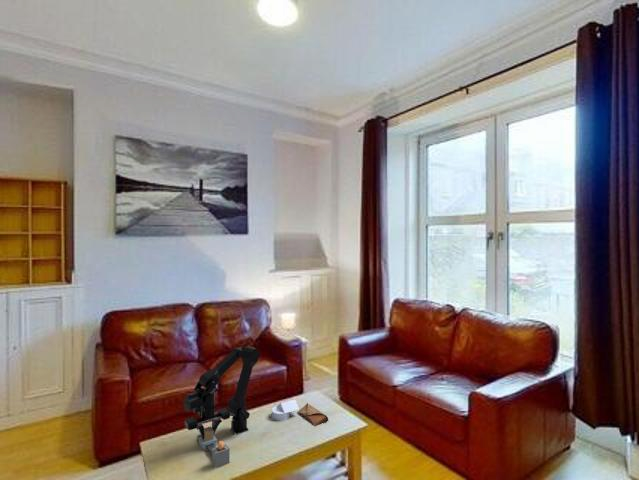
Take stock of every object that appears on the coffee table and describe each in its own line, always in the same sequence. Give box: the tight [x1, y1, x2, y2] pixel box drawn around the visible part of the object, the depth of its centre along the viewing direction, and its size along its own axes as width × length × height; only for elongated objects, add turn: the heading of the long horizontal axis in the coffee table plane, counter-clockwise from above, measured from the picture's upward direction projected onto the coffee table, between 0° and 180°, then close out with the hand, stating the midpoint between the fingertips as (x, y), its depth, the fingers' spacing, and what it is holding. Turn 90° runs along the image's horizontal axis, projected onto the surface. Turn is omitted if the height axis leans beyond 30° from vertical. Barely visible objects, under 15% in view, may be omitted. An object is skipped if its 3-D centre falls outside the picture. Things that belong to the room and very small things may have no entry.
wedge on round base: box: [271, 399, 300, 421], centre depth 194 cm, size 9×7×13 cm
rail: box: [196, 434, 217, 457], centre depth 164 cm, size 5×20×2 cm, turn 36°
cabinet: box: [211, 443, 231, 469], centre depth 153 cm, size 6×4×6 cm, turn 126°
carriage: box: [197, 425, 218, 451], centre depth 166 cm, size 6×6×7 cm
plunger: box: [217, 440, 224, 451], centre depth 153 cm, size 2×2×3 cm
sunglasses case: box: [296, 402, 329, 427], centre depth 192 cm, size 18×7×7 cm
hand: (207, 437), depth 166 cm, fingers closed on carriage, 4 cm apart
